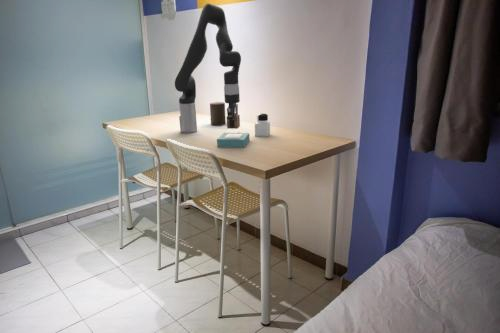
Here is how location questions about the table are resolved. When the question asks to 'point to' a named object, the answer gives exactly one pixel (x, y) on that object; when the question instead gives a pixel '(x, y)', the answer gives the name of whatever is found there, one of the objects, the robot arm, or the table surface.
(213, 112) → the pillar candle
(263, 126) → the medicine bottle
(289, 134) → the table surface
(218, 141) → the teal base
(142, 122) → the table surface
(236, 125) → the walnut block
